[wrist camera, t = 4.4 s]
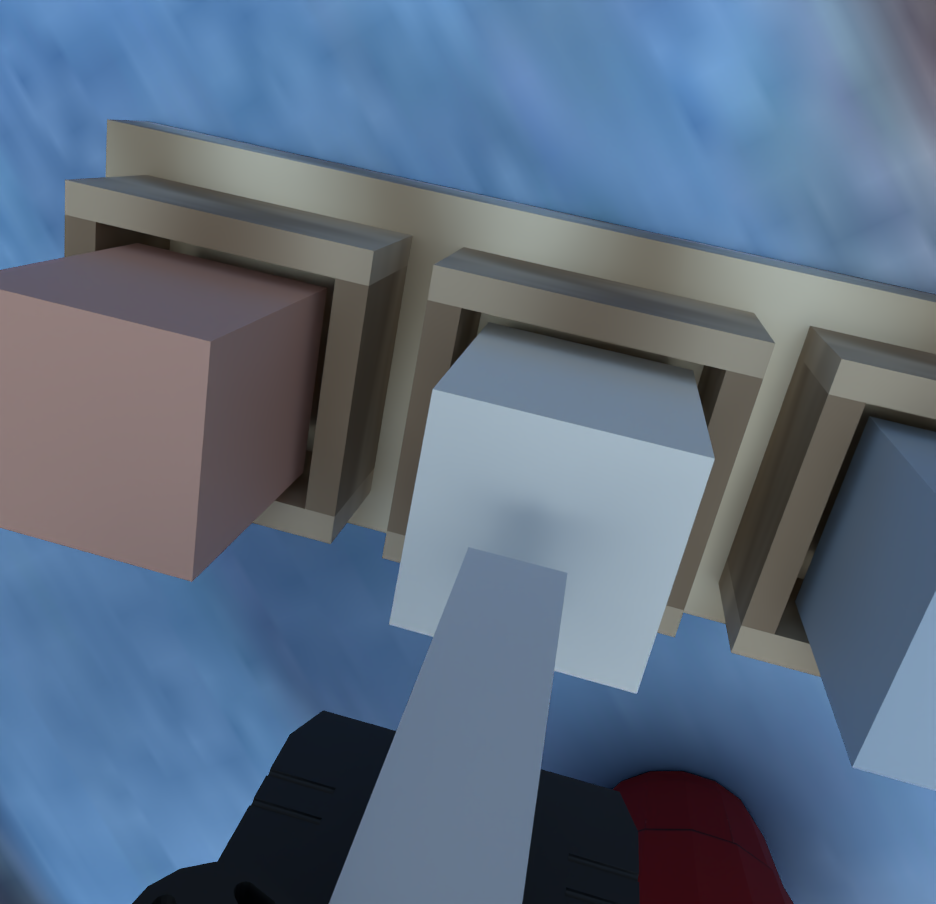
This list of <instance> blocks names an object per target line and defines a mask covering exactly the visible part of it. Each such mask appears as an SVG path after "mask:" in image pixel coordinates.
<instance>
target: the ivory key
mask: <svg viewBox="0 0 936 904" xmlns="http://www.w3.org/2000/svg"><path fill="white" fill-rule="evenodd" d="M714 460H715V457H714V453H713V449H712V445H711V441H710V437H709V433H708V429H707V425H706V421H705V417H704V413H703V408H702V404H701V400H700V396H699V392H698V388H697V384H696V380H695V376H694V372H693V370H689V369H685V368H681V367H677V366H672V365H668V364H664V363H660V362H655V361H651V360H647V359H643V358H638V357H634V356H630V355H626V354H622V353H617V352H613V351H609V350H605V349H600V348H596V347H592V346H588V345H583V344H579V343H575V342H571V341H566V340H562V339H558V338H554V337H550V336H545V335H541V334H537V333H533V332H528V331H524V330H520V329H516V328H511V327H507V326H503V325H499V324H495V323H490V322H488V324H487V325H486V326H485V327H484V328H483V329H482V331H481V332H480V333H479V334H478V335H477V337H476V338H475V339H474V340H473V341H472V343H471V344H470V345H469V346H468V347H467V349H466V350H465V351H464V352H463V353H462V355H461V356H460V357H459V358H458V359H457V361H456V362H455V363H454V364H453V365H452V367H451V368H450V369H449V370H448V371H447V373H446V374H445V375H444V376H443V377H442V378H441V380H440V381H439V382H438V383H437V384H436V386H435V387H434V388H433V390H432V395H431V401H430V406H429V411H428V417H427V422H426V428H425V433H424V438H423V444H422V449H421V455H420V460H419V465H418V471H417V476H416V481H415V487H414V492H413V498H412V503H411V508H410V514H409V519H408V525H407V530H406V535H405V541H404V546H403V551H402V557H401V562H400V568H399V573H398V578H397V584H396V589H395V595H394V600H393V605H392V611H391V616H390V621H389V625H392V626H396V627H399V628H403V629H407V630H410V631H414V632H417V633H421V634H424V635H428V636H432V637H433V636H434V634H435V631H436V629H437V626H438V624H439V621H440V619H441V616H442V614H443V611H444V608H445V606H446V603H447V601H448V598H449V596H450V593H451V591H452V588H453V585H454V583H455V580H456V578H457V575H458V573H459V570H460V568H461V565H462V562H463V560H464V557H465V555H466V552H467V550H468V547H470V548H474V549H478V550H481V551H485V552H489V553H493V554H497V555H501V556H504V557H508V558H512V559H516V560H520V561H524V562H527V563H531V564H535V565H539V566H543V567H547V568H551V569H554V570H558V571H562V572H566V573H567V580H566V588H565V595H564V602H563V610H562V617H561V624H560V632H559V639H558V646H557V653H556V661H555V668H554V671H557V672H560V673H564V674H567V675H571V676H575V677H578V678H582V679H585V680H589V681H592V682H596V683H600V684H603V685H607V686H610V687H614V688H618V689H621V690H625V691H628V692H632V693H635V694H637V692H638V689H639V686H640V683H641V680H642V677H643V674H644V671H645V668H646V665H647V662H648V659H649V656H650V653H651V650H652V647H653V644H654V641H655V638H656V635H657V631H658V628H659V625H660V622H661V619H662V616H663V613H664V610H665V607H666V604H667V601H668V598H669V595H670V592H671V589H672V586H673V583H674V580H675V577H676V574H677V571H678V568H679V565H680V562H681V559H682V556H683V553H684V550H685V547H686V544H687V541H688V538H689V535H690V532H691V529H692V526H693V523H694V520H695V517H696V514H697V511H698V508H699V505H700V502H701V499H702V496H703V493H704V490H705V487H706V484H707V481H708V478H709V475H710V472H711V469H712V466H713V463H714Z"/></svg>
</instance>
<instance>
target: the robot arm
mask: <svg viewBox="0 0 936 904" xmlns="http://www.w3.org/2000/svg"><path fill="white" fill-rule="evenodd" d="M566 580H567V573H566V572H562V571H558V570H554V569H551V568H547V567H543V566H539V565H535V564H531V563H527V562H524V561H520V560H516V559H512V558H508V557H504V556H501V555H497V554H493V553H489V552H485V551H481V550H478V549H474V548H470V547H468V550H467V552H466V555H465V557H464V560H463V562H462V565H461V568H460V570H459V573H458V575H457V578H456V580H455V583H454V585H453V588H452V591H451V593H450V596H449V598H448V601H447V603H446V606H445V608H444V611H443V614H442V616H441V619H440V621H439V624H438V626H437V629H436V631H435V634H434V636H433V639H432V642H431V644H430V647H429V649H428V652H427V654H426V657H425V659H424V662H423V665H422V667H421V670H420V672H419V675H418V677H417V680H416V682H415V685H414V688H413V690H412V693H411V695H410V698H409V700H408V703H407V705H406V708H405V710H404V713H403V716H402V718H401V721H400V723H399V726H398V728H397V731H394V730H390V729H387V728H383V727H380V726H376V725H373V724H369V723H366V722H362V721H358V720H355V719H351V718H348V717H344V716H341V715H337V714H334V713H330V712H327V711H322V712H320V713H319V714H318V715H316V716H315V717H313V718H312V719H311V720H309V721H308V722H307V723H305V724H304V725H302V726H301V727H300V728H298V729H297V730H296V731H294V732H293V733H291V734H290V735H289V737H288V739H287V741H286V742H285V744H284V746H283V748H282V749H281V751H280V753H279V755H278V756H277V758H276V760H275V762H274V763H273V765H272V767H271V769H270V772H269V775H268V776H266V777H265V779H264V781H263V783H262V784H261V786H260V788H259V790H258V791H257V793H256V795H255V797H254V800H253V803H252V805H249V807H248V809H247V811H246V812H245V814H244V816H243V818H242V820H241V821H240V823H239V825H238V827H237V828H236V830H235V832H234V834H233V835H232V837H231V839H230V841H229V842H228V844H227V846H226V848H225V849H224V851H223V853H222V855H221V856H220V858H219V860H218V862H212V863H207V864H202V865H197V866H192V867H187V868H182V869H179V870H177V871H175V872H173V873H172V874H170V875H168V876H166V877H164V878H163V879H161V880H159V881H157V882H155V883H153V884H152V885H150V886H148V887H147V888H146V889H145V890H144V891H143V892H142V894H141V895H140V896H139V897H138V898H137V899H136V900H135V901H134V902H133V903H132V904H640V897H639V882H638V876H639V840H638V830H637V828H636V826H635V824H634V822H633V819H632V817H631V815H630V813H629V811H628V809H627V806H626V804H625V802H624V800H623V798H622V796H621V794H620V792H619V791H615V790H612V789H608V788H605V787H601V786H598V785H594V784H591V783H587V782H584V781H580V780H576V779H573V778H569V777H566V776H562V775H559V774H555V773H552V772H548V771H545V770H541V763H542V756H543V748H544V741H545V734H546V726H547V719H548V712H549V704H550V697H551V690H552V683H553V675H554V668H555V661H556V653H557V646H558V639H559V632H560V624H561V617H562V610H563V602H564V595H565V588H566Z"/></svg>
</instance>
